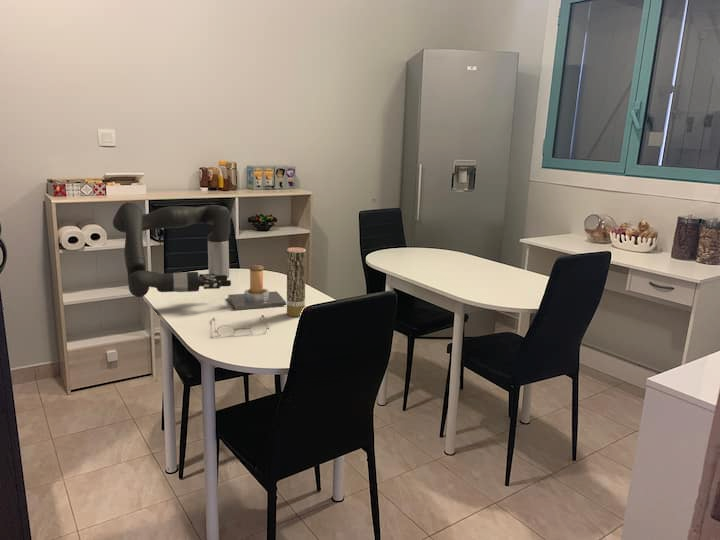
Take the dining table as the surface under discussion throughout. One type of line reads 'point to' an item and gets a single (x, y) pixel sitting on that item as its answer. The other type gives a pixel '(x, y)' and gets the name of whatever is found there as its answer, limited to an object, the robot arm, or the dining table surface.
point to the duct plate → (256, 300)
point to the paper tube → (295, 280)
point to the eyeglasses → (240, 328)
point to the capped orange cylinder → (256, 279)
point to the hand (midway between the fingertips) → (228, 280)
